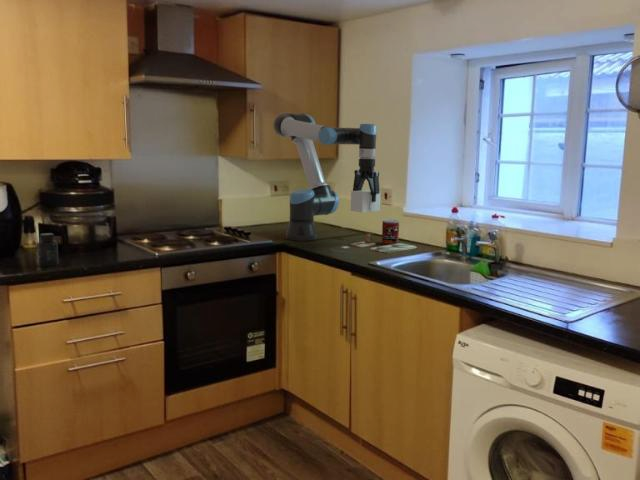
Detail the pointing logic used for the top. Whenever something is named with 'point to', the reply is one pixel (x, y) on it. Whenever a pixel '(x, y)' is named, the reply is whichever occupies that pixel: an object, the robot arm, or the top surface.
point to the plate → (366, 243)
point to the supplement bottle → (47, 250)
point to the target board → (393, 248)
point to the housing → (363, 201)
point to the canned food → (390, 231)
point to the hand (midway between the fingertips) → (365, 207)
